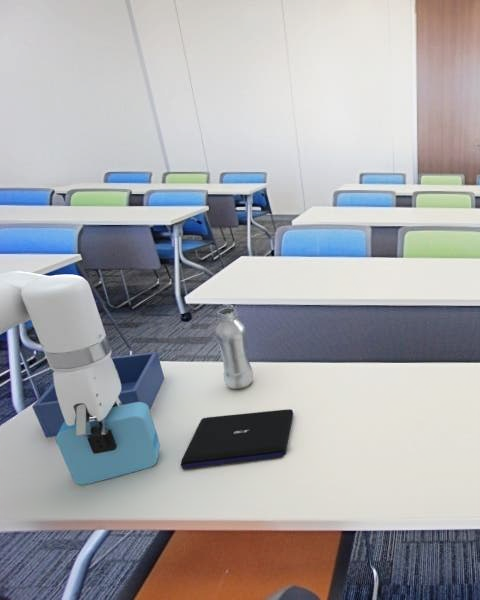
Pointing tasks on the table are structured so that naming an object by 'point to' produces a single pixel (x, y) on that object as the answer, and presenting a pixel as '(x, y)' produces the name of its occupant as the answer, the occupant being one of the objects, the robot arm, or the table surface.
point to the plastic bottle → (233, 349)
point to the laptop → (239, 438)
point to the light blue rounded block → (128, 437)
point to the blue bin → (134, 388)
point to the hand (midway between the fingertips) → (111, 438)
